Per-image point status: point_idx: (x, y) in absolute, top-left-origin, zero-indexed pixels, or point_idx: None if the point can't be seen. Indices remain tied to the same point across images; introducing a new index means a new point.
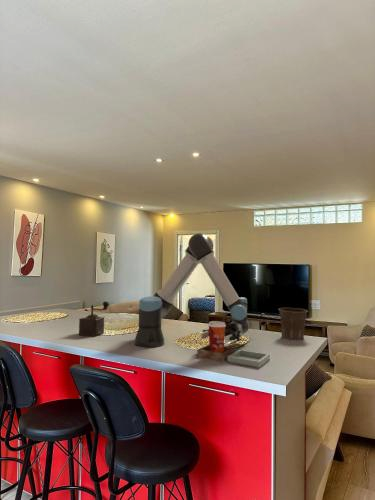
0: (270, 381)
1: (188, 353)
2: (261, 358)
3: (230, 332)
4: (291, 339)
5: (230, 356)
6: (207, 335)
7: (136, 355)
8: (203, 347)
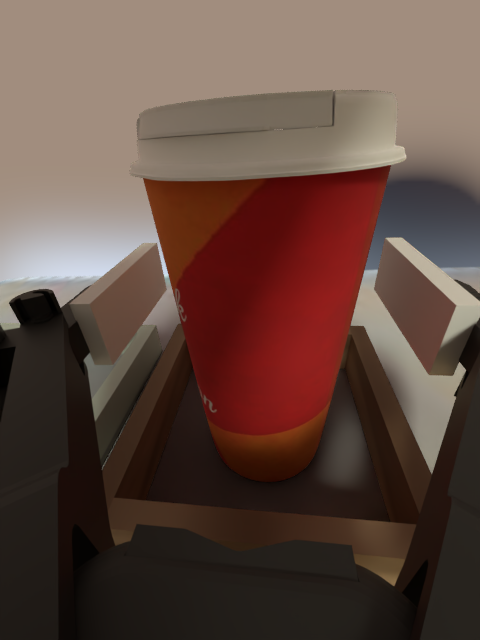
0: (26, 284)
1: (455, 383)
2: None
3: (67, 424)
4: None
5: (139, 328)
6: (423, 336)
7: None
8: (378, 378)
